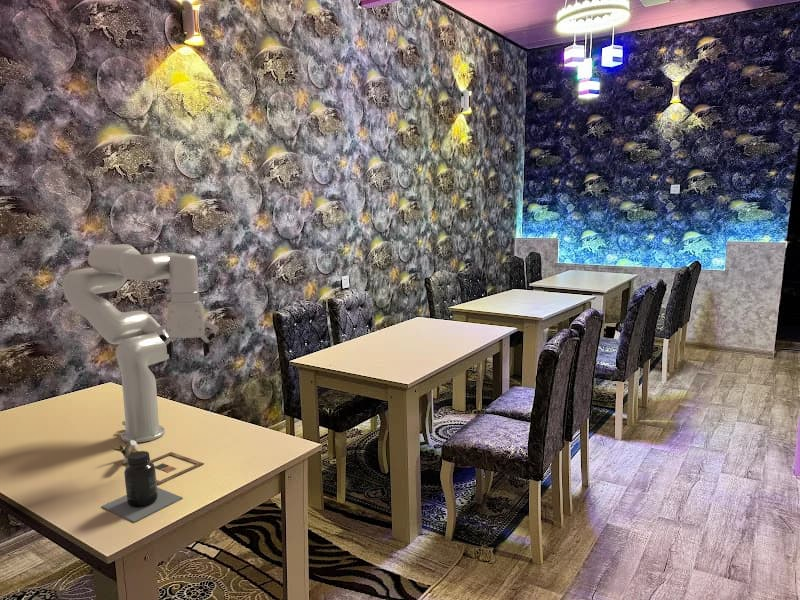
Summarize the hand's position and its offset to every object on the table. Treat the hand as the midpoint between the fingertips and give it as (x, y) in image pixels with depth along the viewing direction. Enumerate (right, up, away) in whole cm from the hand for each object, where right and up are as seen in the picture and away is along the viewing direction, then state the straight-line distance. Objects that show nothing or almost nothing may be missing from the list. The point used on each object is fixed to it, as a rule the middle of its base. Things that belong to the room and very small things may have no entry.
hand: (188, 356), depth 168 cm
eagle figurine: (-14, -30, -5) cm, 33 cm away
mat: (-1, -33, -27) cm, 43 cm away
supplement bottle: (-1, -33, -27) cm, 43 cm away
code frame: (-3, -30, -8) cm, 31 cm away
